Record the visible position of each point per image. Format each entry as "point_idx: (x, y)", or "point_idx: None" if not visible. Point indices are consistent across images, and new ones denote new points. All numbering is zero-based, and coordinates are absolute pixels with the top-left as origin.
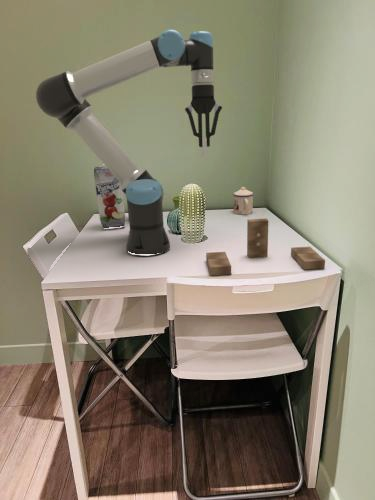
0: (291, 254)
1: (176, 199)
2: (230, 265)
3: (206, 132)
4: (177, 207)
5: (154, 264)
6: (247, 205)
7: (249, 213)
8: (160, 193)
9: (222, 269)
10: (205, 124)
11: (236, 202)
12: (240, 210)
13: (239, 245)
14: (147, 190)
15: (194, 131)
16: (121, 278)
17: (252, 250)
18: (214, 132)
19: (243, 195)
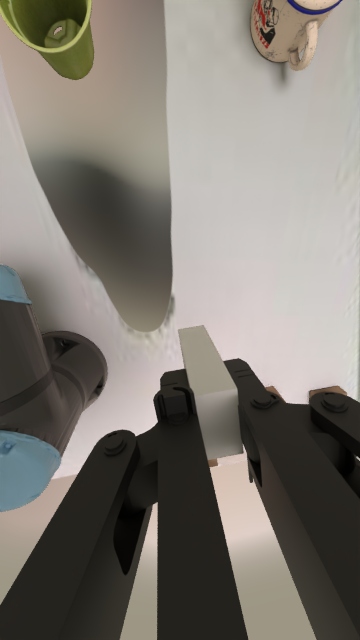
0: (311, 394)
1: (27, 42)
2: (217, 463)
3: (263, 495)
4: (44, 57)
5: (99, 430)
6: (304, 68)
7: (298, 53)
8: (57, 460)
9: None
10: (313, 559)
11: (273, 16)
12: (273, 51)
13: (236, 346)
14: (23, 505)
15: (118, 547)
16: (66, 474)
17: None
18: (352, 474)
19: (313, 9)
